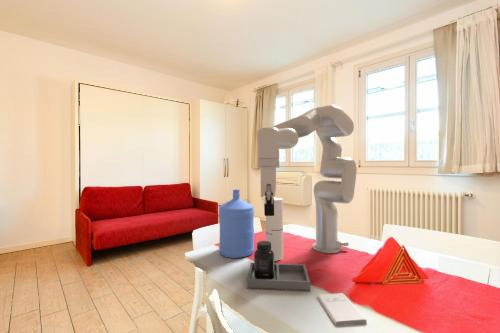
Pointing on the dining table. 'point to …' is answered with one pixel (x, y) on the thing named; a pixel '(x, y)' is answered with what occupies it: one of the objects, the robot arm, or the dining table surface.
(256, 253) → the supplement bottle
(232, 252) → the water jug
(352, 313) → the external hard drive
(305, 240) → the dining table surface
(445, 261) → the dining table surface
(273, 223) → the cylindrical container
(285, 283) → the sorting tray
